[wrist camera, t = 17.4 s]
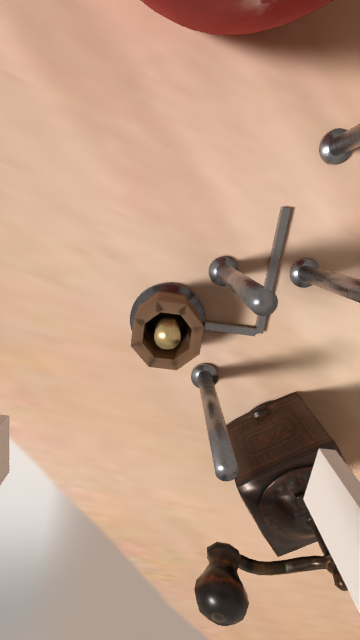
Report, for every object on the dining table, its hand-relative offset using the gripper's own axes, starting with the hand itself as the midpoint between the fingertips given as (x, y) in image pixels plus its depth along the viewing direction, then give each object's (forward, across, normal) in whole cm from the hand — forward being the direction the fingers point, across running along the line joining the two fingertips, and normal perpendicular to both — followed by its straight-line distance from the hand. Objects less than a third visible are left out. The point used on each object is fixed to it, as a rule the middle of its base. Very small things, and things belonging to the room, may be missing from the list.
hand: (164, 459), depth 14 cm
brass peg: (+22, 0, 0) cm, 22 cm away
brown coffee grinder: (+22, +13, -15) cm, 29 cm away
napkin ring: (+21, 0, 0) cm, 21 cm away
